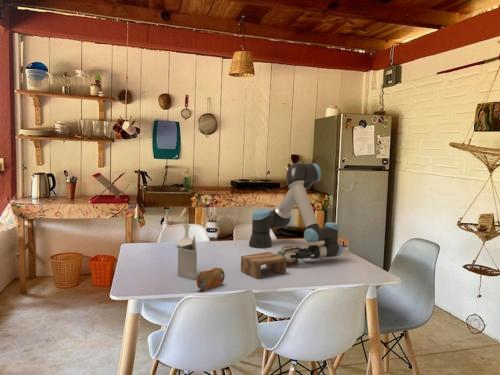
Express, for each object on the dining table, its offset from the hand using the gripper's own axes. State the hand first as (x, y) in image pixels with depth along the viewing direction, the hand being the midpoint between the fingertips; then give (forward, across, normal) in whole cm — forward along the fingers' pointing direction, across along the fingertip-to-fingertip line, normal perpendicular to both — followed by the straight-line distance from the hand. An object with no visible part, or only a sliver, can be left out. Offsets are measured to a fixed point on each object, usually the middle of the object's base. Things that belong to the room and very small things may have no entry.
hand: (280, 255), depth 214 cm
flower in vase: (+35, +57, -6) cm, 68 cm away
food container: (-5, 0, -6) cm, 8 cm away
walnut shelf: (+14, -7, -6) cm, 17 cm away
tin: (+47, -19, -6) cm, 51 cm away
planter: (+51, +3, -6) cm, 52 cm away
